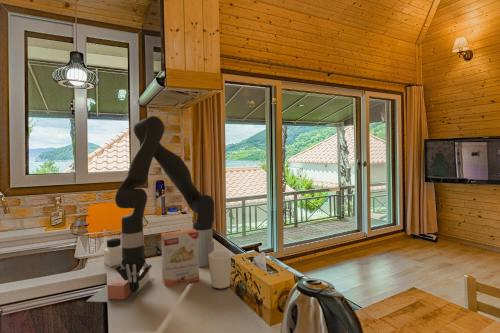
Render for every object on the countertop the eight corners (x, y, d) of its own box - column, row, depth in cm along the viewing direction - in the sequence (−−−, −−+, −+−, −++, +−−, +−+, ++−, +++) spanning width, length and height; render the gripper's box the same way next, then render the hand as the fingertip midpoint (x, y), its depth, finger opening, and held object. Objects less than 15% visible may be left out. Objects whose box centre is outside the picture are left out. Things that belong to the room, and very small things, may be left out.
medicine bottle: (124, 262, 142) (124, 238, 142) (109, 267, 137) (109, 241, 136) (118, 259, 147) (118, 236, 147) (103, 263, 142) (103, 239, 141)
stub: (132, 291, 109) (132, 278, 109) (124, 299, 103) (123, 285, 103) (117, 291, 109) (116, 277, 109) (107, 298, 103) (107, 284, 103)
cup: (218, 278, 122) (218, 248, 122) (238, 283, 117) (238, 252, 117) (203, 288, 114) (202, 256, 113) (224, 294, 109) (223, 260, 108)
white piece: (156, 281, 121) (155, 266, 121) (132, 306, 101) (131, 288, 101) (116, 280, 122) (116, 265, 122) (86, 304, 102) (85, 286, 102)
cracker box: (165, 289, 113) (163, 236, 112) (162, 283, 118) (160, 232, 117) (200, 281, 119) (198, 231, 119) (195, 276, 125) (194, 228, 124)
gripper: (155, 240, 108) (156, 286, 109) (120, 240, 109) (122, 286, 110) (146, 247, 100) (147, 296, 101) (109, 247, 101) (111, 295, 102)
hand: (134, 291), depth 105 cm, fingers closed
